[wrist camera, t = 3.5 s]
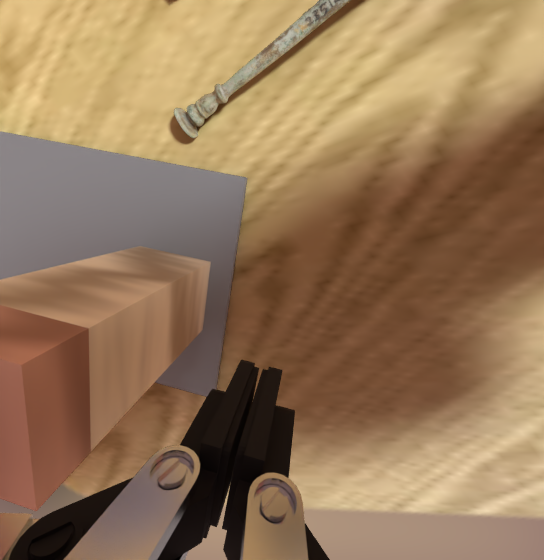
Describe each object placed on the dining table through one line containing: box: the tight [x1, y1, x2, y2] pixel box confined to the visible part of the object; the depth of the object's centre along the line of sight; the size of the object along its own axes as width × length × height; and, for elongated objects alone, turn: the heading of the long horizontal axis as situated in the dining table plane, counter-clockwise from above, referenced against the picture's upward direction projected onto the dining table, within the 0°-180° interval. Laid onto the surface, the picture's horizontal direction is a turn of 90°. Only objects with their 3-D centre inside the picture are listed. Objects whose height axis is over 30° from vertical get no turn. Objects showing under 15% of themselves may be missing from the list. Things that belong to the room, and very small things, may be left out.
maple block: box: [0, 246, 211, 511], centre depth 13 cm, size 5×5×12 cm
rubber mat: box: [0, 132, 247, 397], centre depth 20 cm, size 20×16×1 cm
